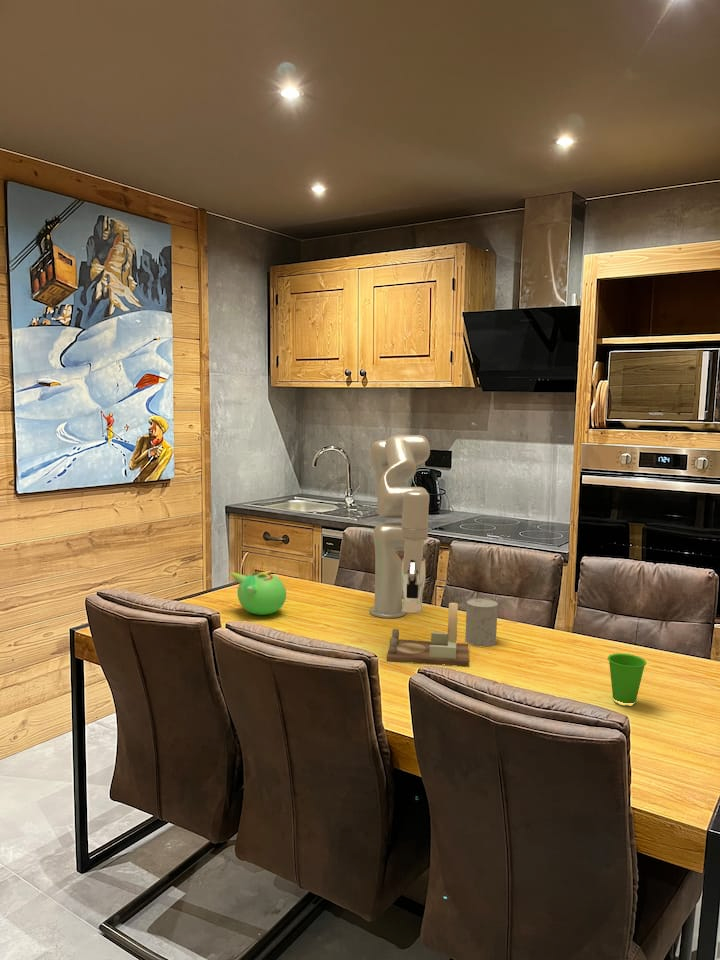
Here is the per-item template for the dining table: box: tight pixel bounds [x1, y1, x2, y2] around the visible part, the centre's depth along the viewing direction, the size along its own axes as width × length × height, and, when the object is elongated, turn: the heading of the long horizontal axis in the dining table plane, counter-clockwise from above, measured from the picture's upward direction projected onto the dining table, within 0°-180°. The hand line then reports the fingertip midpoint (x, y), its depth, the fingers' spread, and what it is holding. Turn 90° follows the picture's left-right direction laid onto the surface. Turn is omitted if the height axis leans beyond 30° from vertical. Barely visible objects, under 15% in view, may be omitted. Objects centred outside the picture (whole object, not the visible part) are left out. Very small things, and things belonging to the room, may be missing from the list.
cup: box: [607, 652, 647, 703], centre depth 180 cm, size 9×9×11 cm
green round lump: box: [229, 570, 287, 616], centre depth 248 cm, size 18×17×15 cm
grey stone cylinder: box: [464, 597, 499, 648], centre depth 224 cm, size 10×10×12 cm
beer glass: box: [401, 557, 427, 614], centre depth 210 cm, size 7×7×15 cm
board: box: [386, 628, 470, 667], centre depth 212 cm, size 15×23×6 cm, turn 82°
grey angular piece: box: [429, 602, 459, 659], centre depth 211 cm, size 13×8×14 cm, turn 172°
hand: (412, 594), depth 211 cm, fingers closed on beer glass, 6 cm apart
